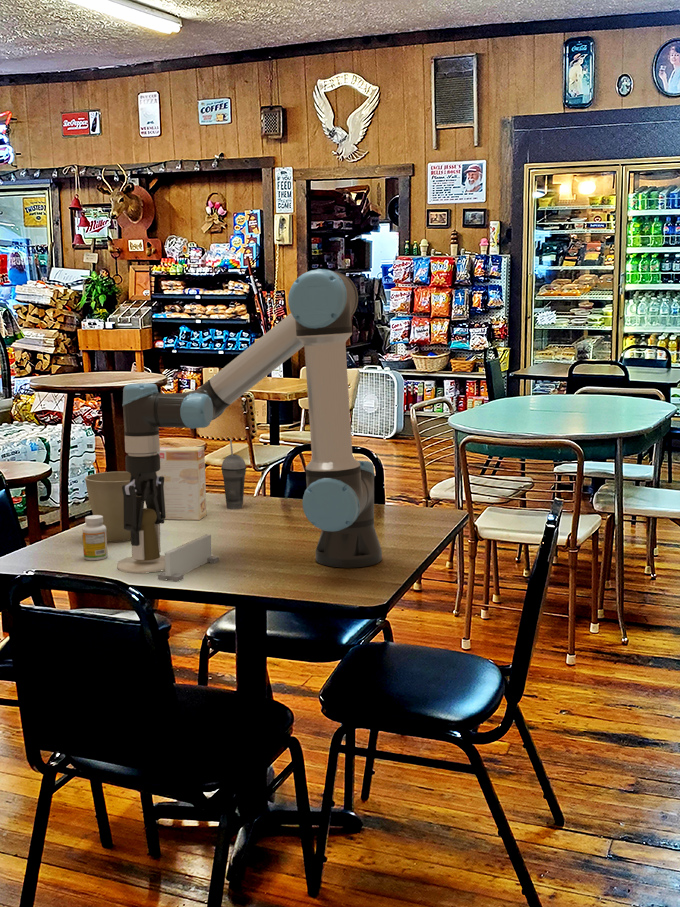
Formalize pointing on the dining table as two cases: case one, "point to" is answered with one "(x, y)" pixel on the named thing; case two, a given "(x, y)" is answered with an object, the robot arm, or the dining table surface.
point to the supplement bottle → (94, 538)
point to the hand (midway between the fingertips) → (146, 555)
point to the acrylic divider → (187, 558)
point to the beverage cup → (234, 479)
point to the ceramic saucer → (141, 565)
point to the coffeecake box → (183, 482)
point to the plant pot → (109, 502)
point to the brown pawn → (149, 535)
